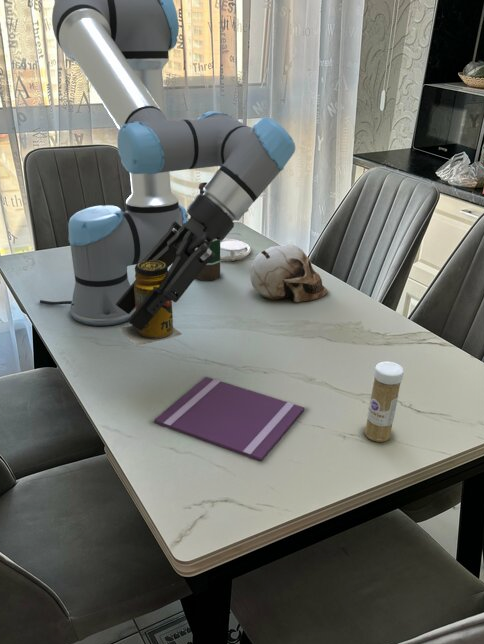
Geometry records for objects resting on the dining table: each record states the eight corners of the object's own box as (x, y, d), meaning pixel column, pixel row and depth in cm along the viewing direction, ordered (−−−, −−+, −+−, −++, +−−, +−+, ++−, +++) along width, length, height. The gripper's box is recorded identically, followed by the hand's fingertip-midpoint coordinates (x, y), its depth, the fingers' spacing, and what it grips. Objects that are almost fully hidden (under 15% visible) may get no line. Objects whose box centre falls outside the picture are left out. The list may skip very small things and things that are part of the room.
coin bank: (332, 291, 155) (333, 241, 147) (292, 319, 145) (290, 267, 137) (284, 277, 163) (282, 229, 155) (242, 302, 153) (238, 252, 145)
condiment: (182, 335, 102) (179, 267, 96) (136, 347, 98) (130, 277, 92) (163, 319, 107) (159, 254, 101) (118, 330, 103) (111, 262, 97)
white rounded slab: (238, 225, 185) (265, 246, 170) (238, 239, 188) (265, 261, 172) (185, 230, 180) (209, 252, 164) (186, 244, 182) (209, 268, 166)
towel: (154, 422, 104) (153, 419, 104) (205, 379, 117) (205, 376, 117) (261, 461, 96) (261, 458, 96) (304, 410, 109) (304, 407, 109)
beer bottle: (225, 273, 164) (226, 181, 151) (214, 283, 158) (214, 189, 144) (199, 268, 166) (197, 178, 153) (187, 278, 160) (184, 185, 146)
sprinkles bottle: (359, 435, 103) (369, 367, 96) (372, 424, 106) (384, 357, 99) (382, 446, 101) (395, 377, 93) (395, 434, 104) (409, 366, 96)
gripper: (259, 240, 92) (163, 354, 95) (210, 207, 106) (128, 307, 109) (228, 208, 87) (128, 329, 90) (181, 178, 101) (95, 283, 104)
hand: (128, 317), depth 99 cm, fingers closed on condiment, 6 cm apart
